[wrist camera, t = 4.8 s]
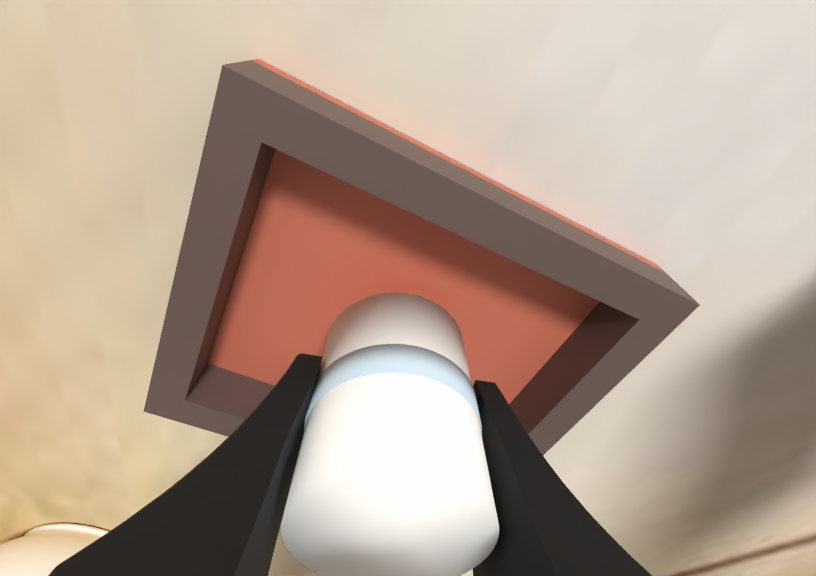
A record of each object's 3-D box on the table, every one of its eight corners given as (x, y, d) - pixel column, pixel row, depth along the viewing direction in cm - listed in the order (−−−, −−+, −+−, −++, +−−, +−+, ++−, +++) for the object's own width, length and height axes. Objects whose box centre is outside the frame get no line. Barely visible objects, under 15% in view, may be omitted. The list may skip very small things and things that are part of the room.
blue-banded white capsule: (483, 306, 13) (535, 486, 8) (444, 407, 15) (464, 597, 10) (335, 278, 12) (286, 452, 7) (318, 388, 15) (272, 579, 9)
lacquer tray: (656, 264, 14) (700, 305, 12) (475, 461, 20) (483, 512, 18) (258, 59, 11) (222, 64, 9) (177, 363, 17) (143, 411, 15)
